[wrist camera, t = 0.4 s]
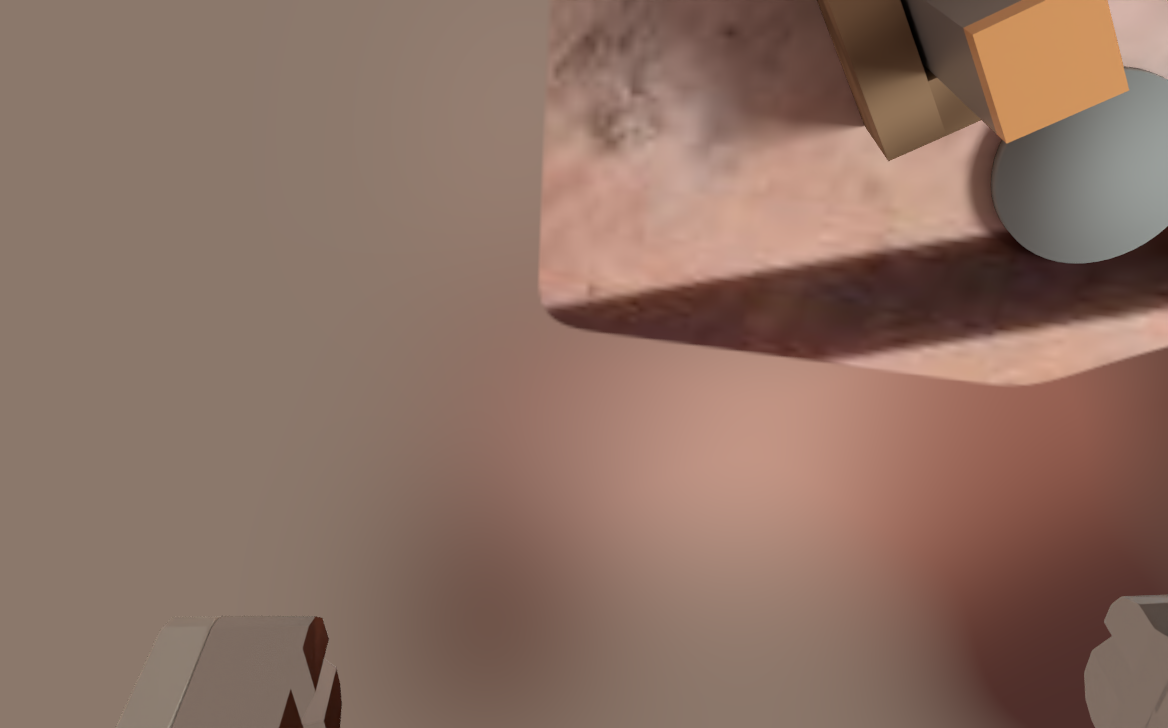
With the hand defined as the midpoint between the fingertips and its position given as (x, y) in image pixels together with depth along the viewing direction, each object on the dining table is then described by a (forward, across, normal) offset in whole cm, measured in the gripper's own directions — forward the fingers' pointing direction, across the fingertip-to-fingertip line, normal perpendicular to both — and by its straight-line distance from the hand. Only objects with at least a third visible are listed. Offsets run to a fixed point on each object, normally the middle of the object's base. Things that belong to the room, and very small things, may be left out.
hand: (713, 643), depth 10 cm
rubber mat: (+44, -27, +14) cm, 54 cm away
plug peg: (+44, -17, +4) cm, 48 cm away
